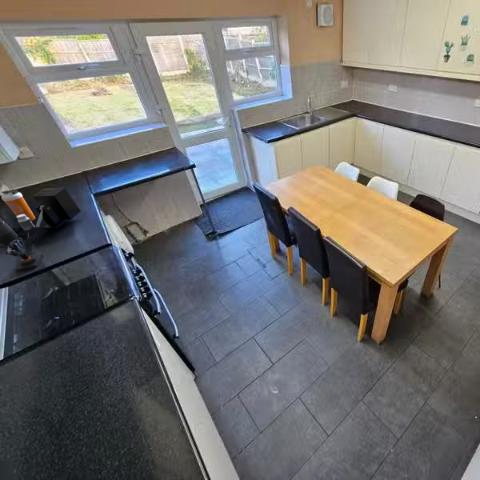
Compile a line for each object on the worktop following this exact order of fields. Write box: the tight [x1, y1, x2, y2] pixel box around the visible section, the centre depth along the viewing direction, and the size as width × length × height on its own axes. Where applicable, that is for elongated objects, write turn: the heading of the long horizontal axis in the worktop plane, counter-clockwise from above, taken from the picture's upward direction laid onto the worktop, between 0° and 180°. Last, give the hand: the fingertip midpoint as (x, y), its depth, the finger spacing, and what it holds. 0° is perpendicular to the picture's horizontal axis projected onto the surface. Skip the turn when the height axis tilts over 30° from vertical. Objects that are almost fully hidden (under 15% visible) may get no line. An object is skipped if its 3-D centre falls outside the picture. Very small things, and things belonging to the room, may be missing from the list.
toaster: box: [32, 187, 82, 221], centre depth 174 cm, size 10×13×18 cm
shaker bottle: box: [1, 189, 36, 222], centre depth 171 cm, size 9×9×20 cm
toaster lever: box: [30, 206, 44, 231], centre depth 163 cm, size 15×6×2 cm
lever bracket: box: [34, 204, 68, 230], centre depth 168 cm, size 10×8×14 cm
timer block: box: [15, 253, 45, 272], centre depth 142 cm, size 10×8×4 cm
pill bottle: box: [15, 214, 36, 231], centre depth 167 cm, size 5×5×9 cm
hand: (26, 258), depth 141 cm, fingers closed
